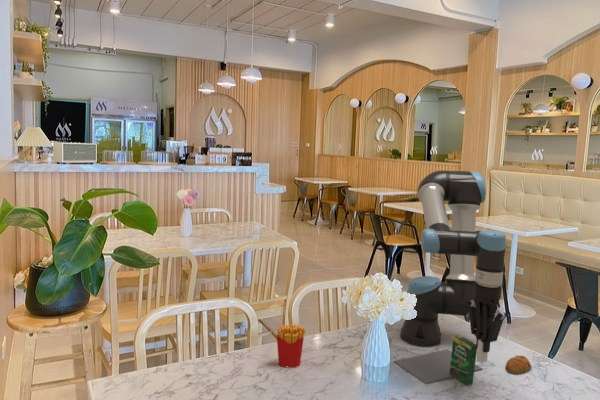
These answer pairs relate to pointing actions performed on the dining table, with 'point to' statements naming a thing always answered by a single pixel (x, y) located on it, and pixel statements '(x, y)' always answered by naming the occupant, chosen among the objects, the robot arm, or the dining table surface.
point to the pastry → (518, 365)
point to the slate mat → (430, 366)
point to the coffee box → (463, 360)
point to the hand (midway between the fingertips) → (481, 360)
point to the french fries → (290, 345)
